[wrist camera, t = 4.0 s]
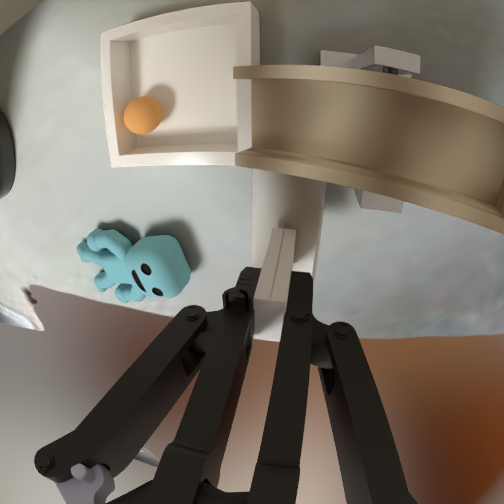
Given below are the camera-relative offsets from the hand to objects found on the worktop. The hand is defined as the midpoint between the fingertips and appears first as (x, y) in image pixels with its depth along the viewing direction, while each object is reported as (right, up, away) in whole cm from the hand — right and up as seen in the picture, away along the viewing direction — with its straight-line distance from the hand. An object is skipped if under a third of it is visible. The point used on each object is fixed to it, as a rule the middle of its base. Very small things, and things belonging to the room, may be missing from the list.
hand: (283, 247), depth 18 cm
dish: (-7, +13, +2) cm, 15 cm away
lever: (+5, +3, -3) cm, 7 cm away
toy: (-15, -1, +13) cm, 20 cm away
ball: (-11, +11, +1) cm, 15 cm away
